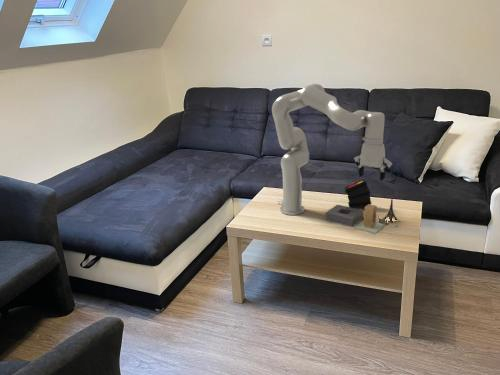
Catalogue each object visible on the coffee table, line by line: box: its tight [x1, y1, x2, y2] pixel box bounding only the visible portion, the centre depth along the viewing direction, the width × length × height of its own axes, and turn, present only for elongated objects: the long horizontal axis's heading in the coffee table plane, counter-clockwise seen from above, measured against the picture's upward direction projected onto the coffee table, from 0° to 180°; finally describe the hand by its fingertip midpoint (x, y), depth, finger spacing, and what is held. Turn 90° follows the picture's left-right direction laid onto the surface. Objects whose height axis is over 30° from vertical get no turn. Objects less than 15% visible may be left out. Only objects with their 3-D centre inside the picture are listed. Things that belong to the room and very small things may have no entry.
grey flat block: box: [325, 204, 364, 227], centre depth 211 cm, size 14×12×4 cm
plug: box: [363, 204, 378, 229], centre depth 200 cm, size 4×4×10 cm
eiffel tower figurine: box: [378, 196, 401, 228], centre depth 206 cm, size 15×10×13 cm
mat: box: [354, 219, 385, 235], centre depth 201 cm, size 10×10×1 cm
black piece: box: [344, 178, 372, 209], centre depth 222 cm, size 4×13×15 cm, turn 83°
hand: (371, 177), depth 194 cm, fingers open, 9 cm apart
